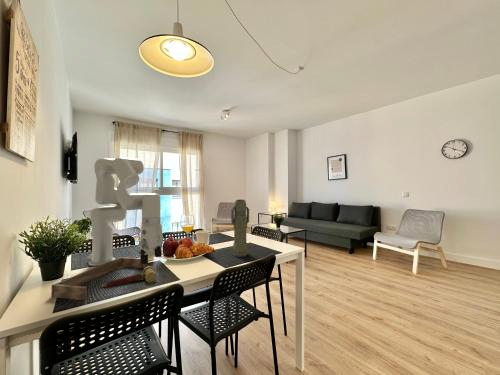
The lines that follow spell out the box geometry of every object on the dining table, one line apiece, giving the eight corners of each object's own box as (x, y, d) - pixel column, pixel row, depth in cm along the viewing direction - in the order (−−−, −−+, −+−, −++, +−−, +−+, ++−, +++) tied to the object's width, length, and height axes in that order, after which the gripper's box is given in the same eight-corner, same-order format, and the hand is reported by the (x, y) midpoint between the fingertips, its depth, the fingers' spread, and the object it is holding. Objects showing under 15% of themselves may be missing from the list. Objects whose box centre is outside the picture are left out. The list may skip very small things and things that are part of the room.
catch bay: (51, 296, 84) (51, 285, 84) (120, 265, 118) (120, 257, 118) (83, 300, 81) (84, 288, 81) (145, 267, 116) (145, 258, 116)
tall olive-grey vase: (251, 254, 137) (252, 199, 138) (235, 258, 131) (235, 200, 131) (244, 251, 145) (244, 199, 145) (228, 254, 138) (229, 199, 139)
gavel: (100, 285, 87) (101, 276, 96) (101, 296, 87) (102, 286, 96) (156, 271, 98) (153, 264, 107) (157, 281, 99) (153, 273, 107)
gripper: (146, 224, 87) (146, 267, 86) (169, 219, 104) (169, 254, 103) (129, 224, 88) (129, 266, 88) (155, 218, 105) (155, 254, 105)
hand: (151, 260), depth 96 cm, fingers open, 9 cm apart
